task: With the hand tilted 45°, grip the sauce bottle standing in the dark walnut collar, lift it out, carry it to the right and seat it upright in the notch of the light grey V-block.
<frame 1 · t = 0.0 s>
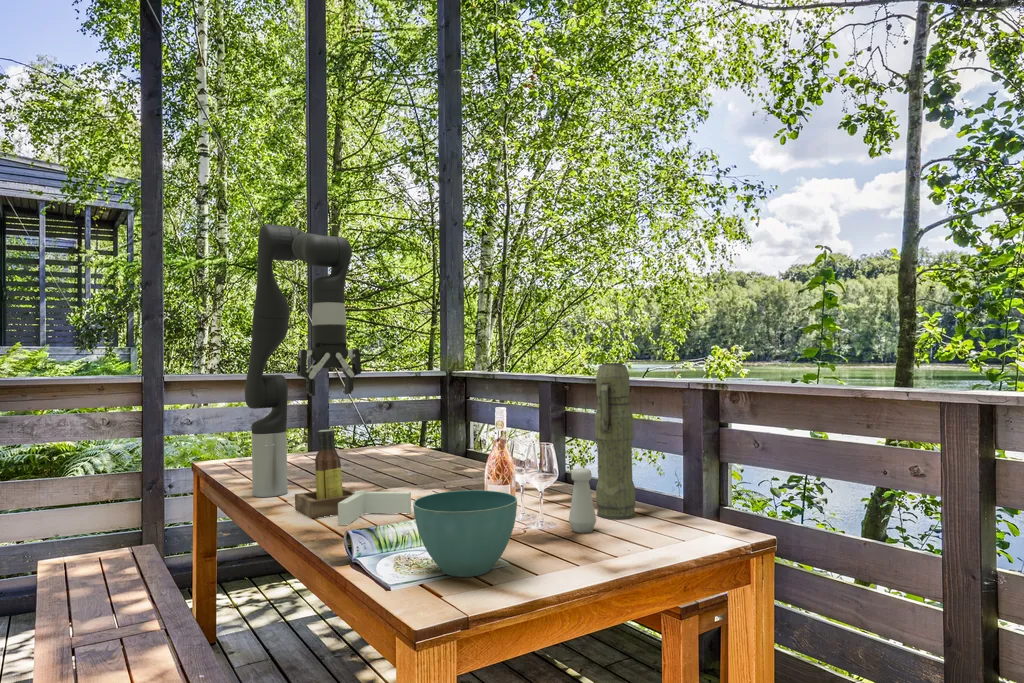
hand: (330, 394, 154), 29 cm above the table, tool pointing down, fingers open, 8 cm apart
sauce bottle: (329, 511, 168), on the table
salt shaker: (582, 531, 144), on the table
collar: (329, 510, 168), on the table
plant pot: (466, 570, 119), on the table
thermos: (616, 515, 157), on the table
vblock: (362, 513, 164), on the table
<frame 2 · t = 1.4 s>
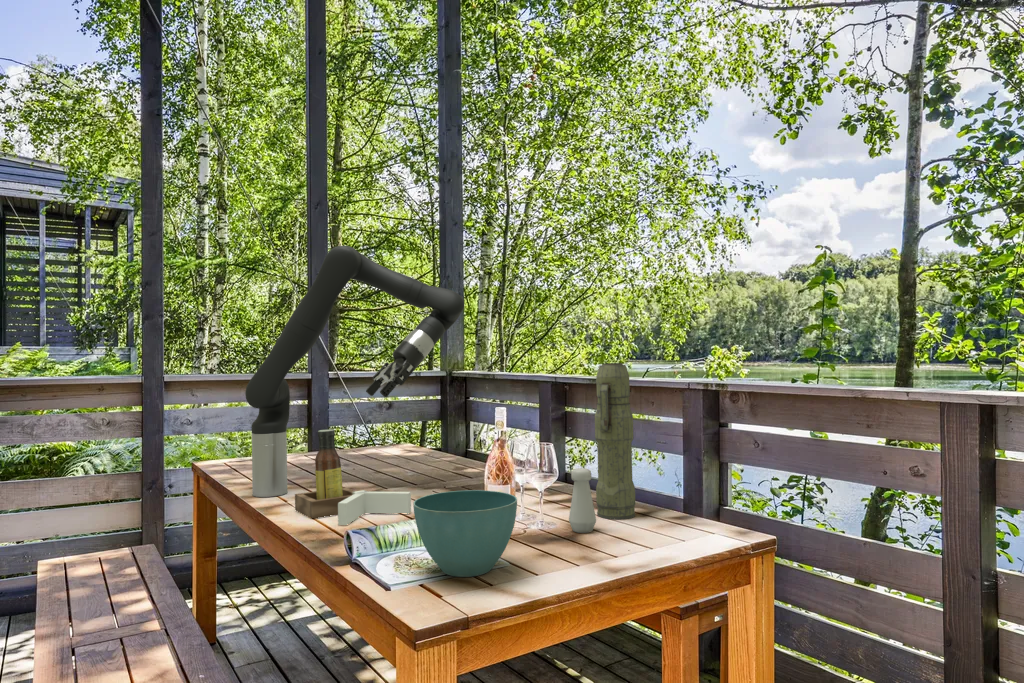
hand: (375, 394, 177), 28 cm above the table, tool tilted 45°, fingers open, 8 cm apart
nothing on the table moved.
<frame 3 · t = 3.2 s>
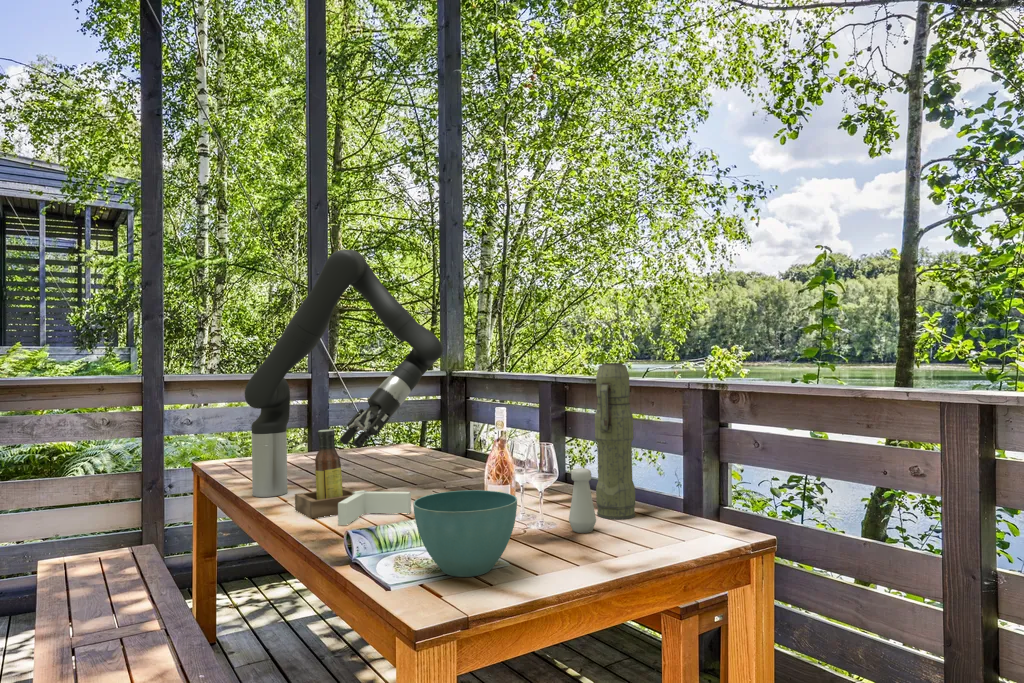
hand: (349, 444, 171), 16 cm above the table, tool tilted 45°, fingers open, 8 cm apart
nothing on the table moved.
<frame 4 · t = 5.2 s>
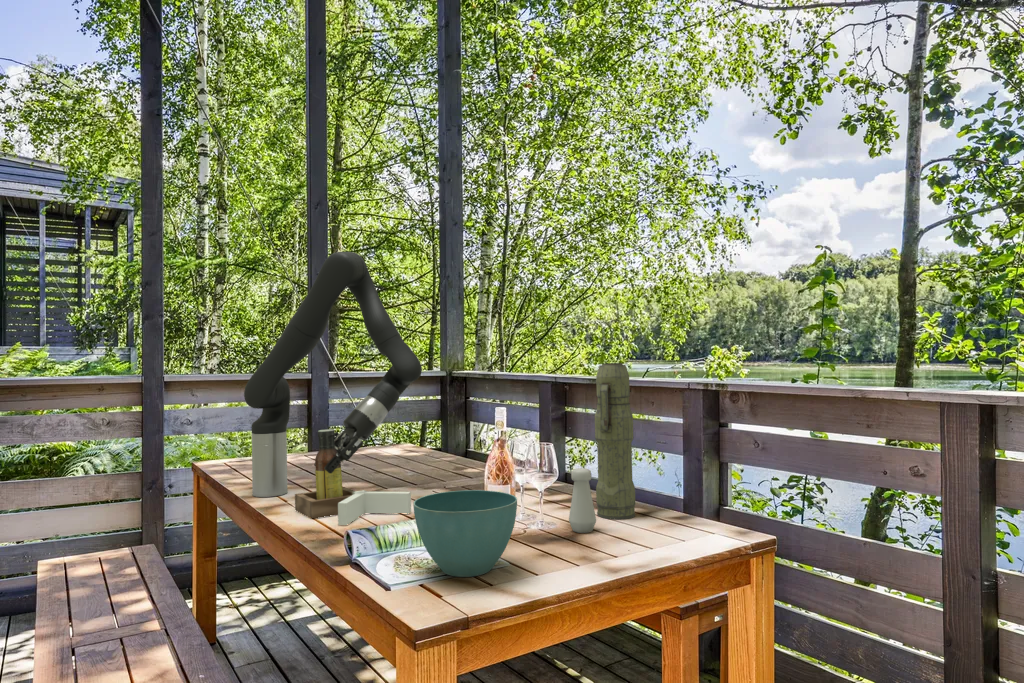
hand: (322, 469, 167), 10 cm above the table, tool tilted 45°, fingers closed on sauce bottle, 6 cm apart
sauce bottle: (329, 511, 168), on the table, touching gripper
everything else where it was.
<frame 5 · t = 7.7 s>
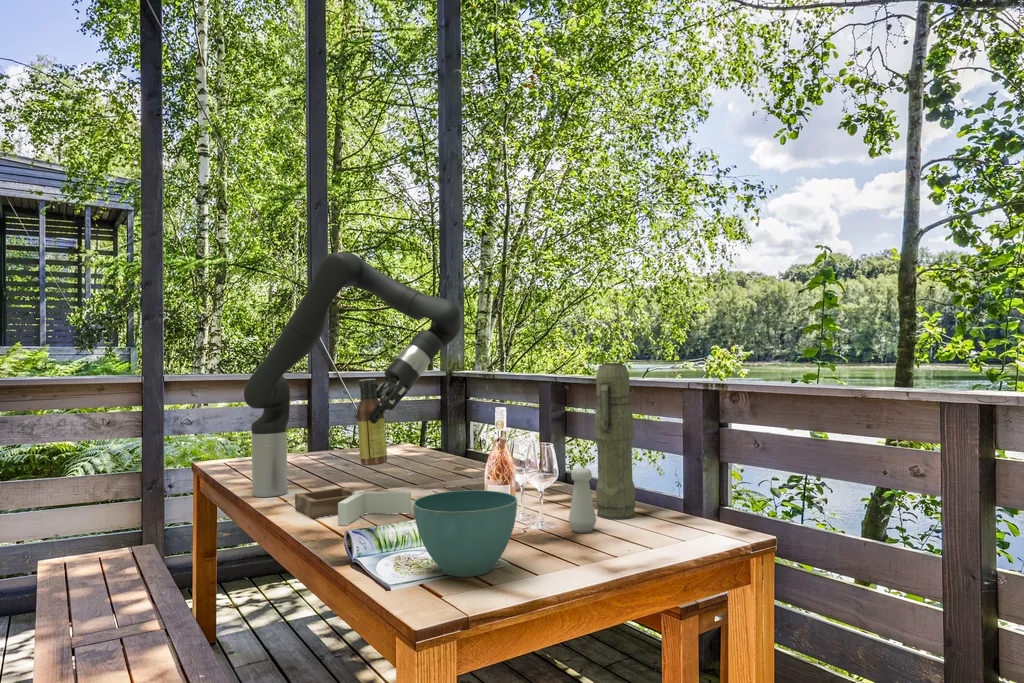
hand: (364, 420, 158), 23 cm above the table, tool tilted 45°, fingers closed on sauce bottle, 6 cm apart
sauce bottle: (373, 464, 159), point 12 cm above the table, touching gripper
everything else where it was.
when the fingers open (11 cm above the table, at t = 10.6 s): sauce bottle stays where it is, on the table.
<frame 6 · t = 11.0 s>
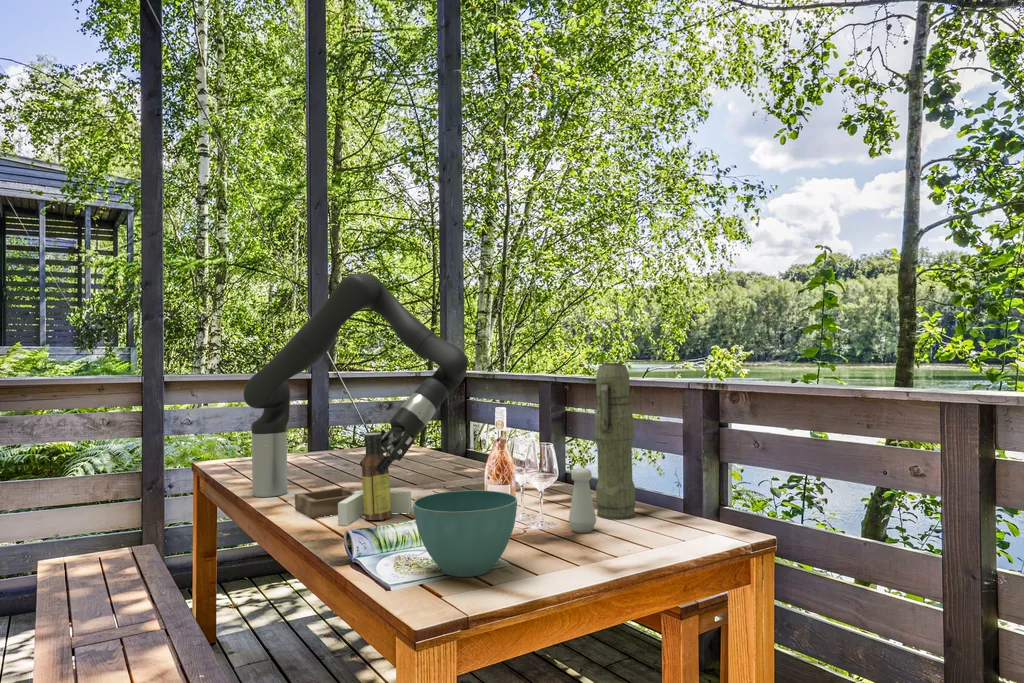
hand: (370, 469, 157), 12 cm above the table, tool tilted 45°, fingers open, 8 cm apart
sauce bottle: (376, 519, 158), on the table
everything else where it was.
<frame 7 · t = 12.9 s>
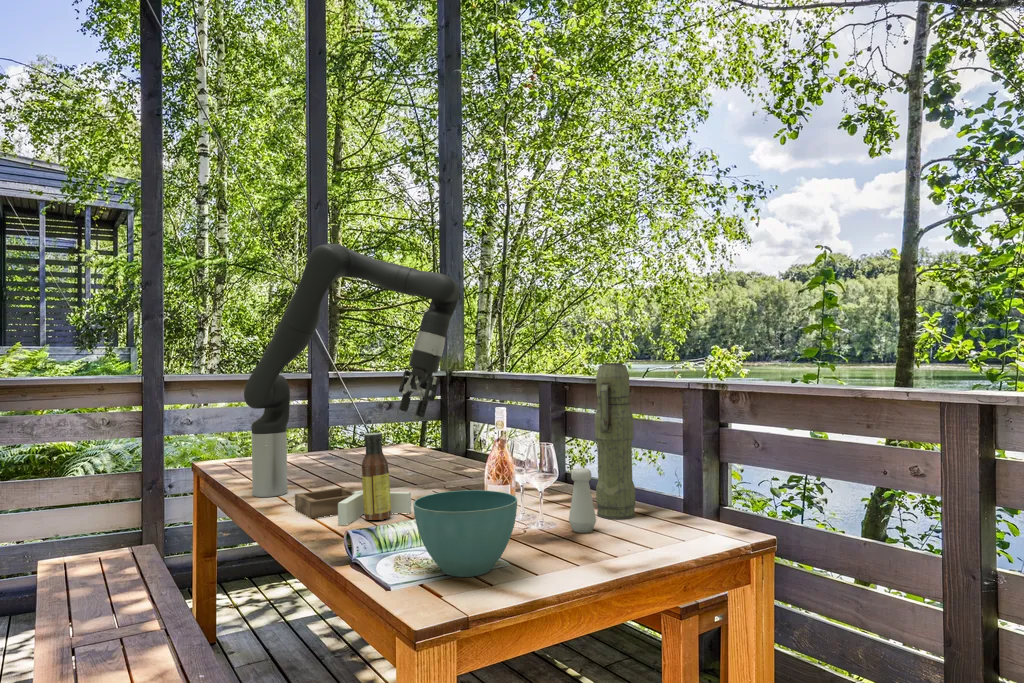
hand: (411, 413, 172), 23 cm above the table, tool tilted 15°, fingers open, 8 cm apart
nothing on the table moved.
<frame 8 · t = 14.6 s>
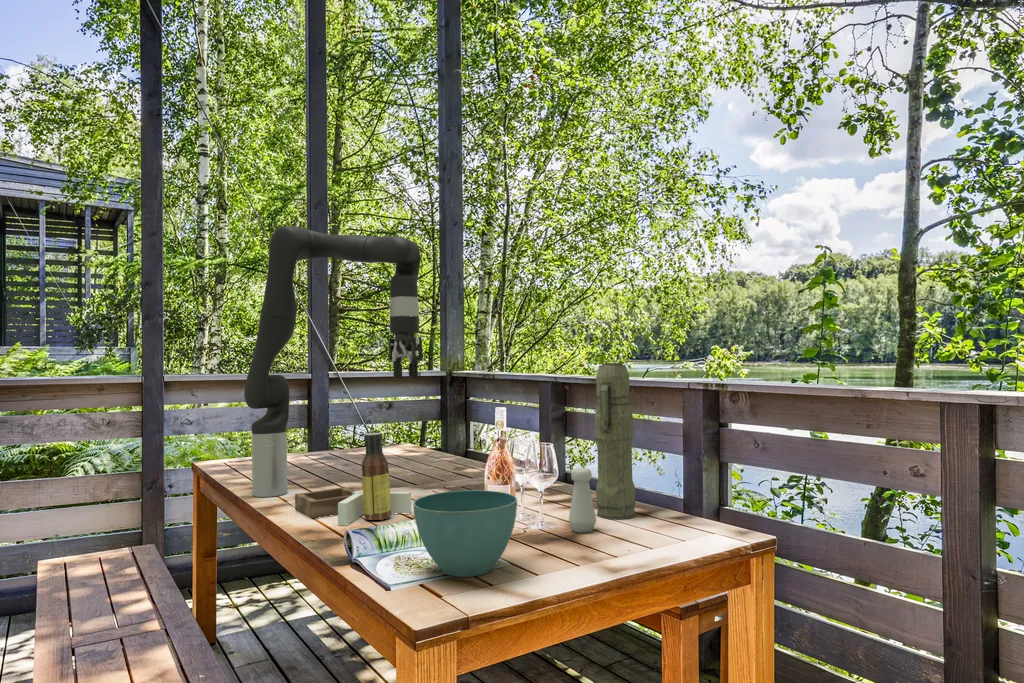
hand: (405, 377, 175), 32 cm above the table, tool pointing down, fingers open, 8 cm apart
nothing on the table moved.
at the end: sauce bottle inside the target area (0.4 cm from its centre), on the table; sauce bottle tilted 0°; the gripper is holding nothing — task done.
